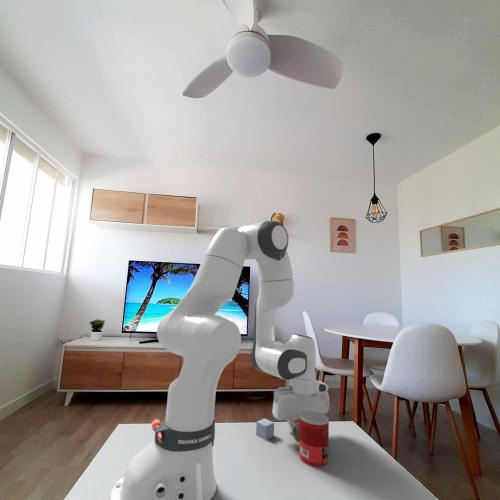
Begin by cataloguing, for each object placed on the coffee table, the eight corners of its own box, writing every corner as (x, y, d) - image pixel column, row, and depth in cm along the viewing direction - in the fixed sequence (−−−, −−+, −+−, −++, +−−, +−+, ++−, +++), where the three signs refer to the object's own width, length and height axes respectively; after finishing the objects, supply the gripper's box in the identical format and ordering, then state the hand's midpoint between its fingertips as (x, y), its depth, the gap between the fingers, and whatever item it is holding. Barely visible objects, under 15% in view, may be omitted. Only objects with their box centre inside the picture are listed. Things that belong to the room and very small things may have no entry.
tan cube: (298, 441, 88) (299, 423, 88) (290, 433, 92) (290, 417, 93) (311, 438, 90) (312, 421, 90) (302, 431, 94) (303, 415, 95)
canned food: (329, 469, 74) (329, 424, 76) (298, 464, 76) (299, 419, 77) (327, 453, 81) (327, 412, 83) (299, 449, 83) (300, 409, 85)
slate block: (265, 440, 87) (265, 426, 88) (256, 435, 90) (256, 421, 91) (273, 436, 90) (274, 422, 91) (264, 431, 93) (264, 418, 93)
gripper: (279, 391, 86) (278, 440, 84) (332, 385, 95) (332, 430, 92) (269, 384, 92) (268, 430, 90) (320, 379, 100) (319, 421, 98)
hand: (300, 430), depth 91 cm, fingers closed on tan cube, 5 cm apart
